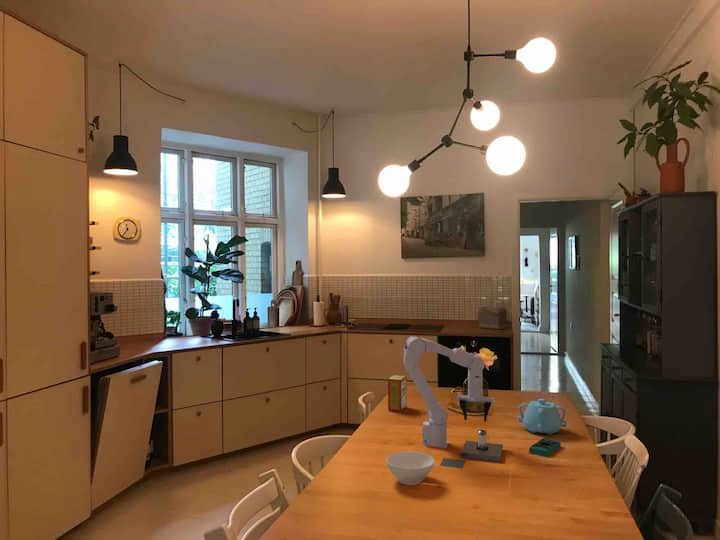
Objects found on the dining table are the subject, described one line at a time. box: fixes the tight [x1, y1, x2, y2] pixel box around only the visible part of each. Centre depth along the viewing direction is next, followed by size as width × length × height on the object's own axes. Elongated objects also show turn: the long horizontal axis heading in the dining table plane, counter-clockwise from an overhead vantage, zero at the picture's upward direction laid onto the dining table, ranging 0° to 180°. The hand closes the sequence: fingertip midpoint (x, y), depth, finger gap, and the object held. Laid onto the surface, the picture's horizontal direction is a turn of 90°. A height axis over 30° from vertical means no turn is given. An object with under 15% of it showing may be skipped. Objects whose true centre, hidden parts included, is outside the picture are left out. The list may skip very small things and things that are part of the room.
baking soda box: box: [387, 374, 407, 413], centre depth 267 cm, size 10×6×16 cm
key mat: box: [439, 457, 467, 469], centre depth 193 cm, size 8×8×1 cm
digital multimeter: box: [528, 437, 562, 457], centre depth 208 cm, size 7×15×3 cm, turn 141°
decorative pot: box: [517, 398, 568, 436], centre depth 231 cm, size 16×16×14 cm
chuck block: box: [460, 440, 504, 463], centre depth 202 cm, size 14×14×2 cm
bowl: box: [385, 450, 435, 486], centre depth 178 cm, size 16×16×7 cm
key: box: [477, 429, 487, 451], centre depth 202 cm, size 3×3×9 cm
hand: (475, 420), depth 214 cm, fingers open, 7 cm apart
